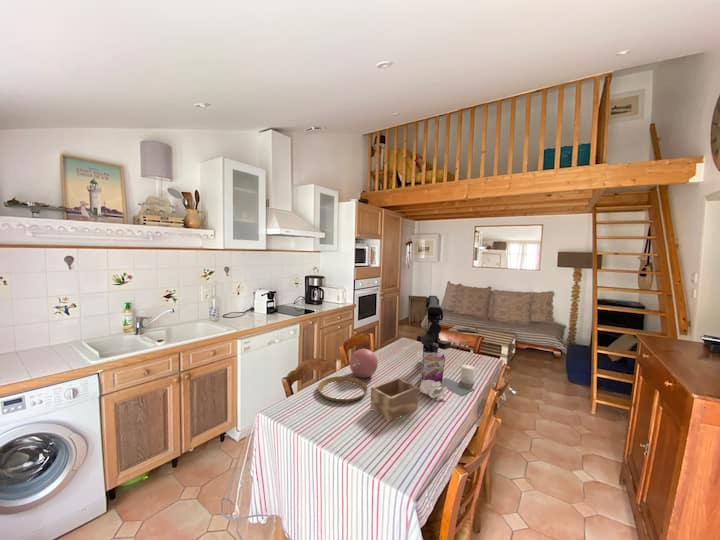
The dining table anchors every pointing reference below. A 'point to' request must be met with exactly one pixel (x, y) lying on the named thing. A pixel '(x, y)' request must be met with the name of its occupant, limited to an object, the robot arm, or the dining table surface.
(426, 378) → the candy bar box
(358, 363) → the pink ball
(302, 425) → the dining table surface
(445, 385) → the mat
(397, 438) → the dining table surface
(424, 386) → the coral
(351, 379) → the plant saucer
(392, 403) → the rectangular brown crate
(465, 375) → the cream domed cylinder
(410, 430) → the dining table surface
